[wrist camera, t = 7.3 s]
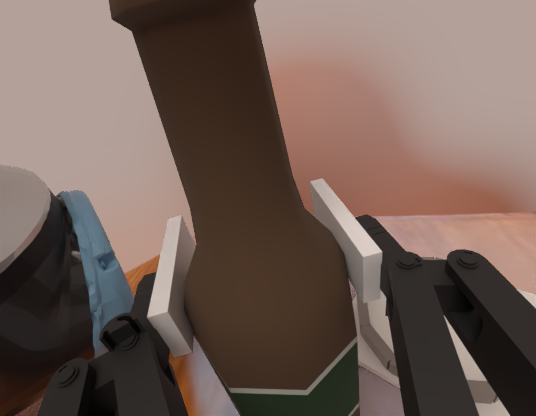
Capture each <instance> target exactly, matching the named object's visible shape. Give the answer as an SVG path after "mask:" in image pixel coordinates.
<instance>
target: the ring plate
mask: <svg viewBox="0 0 536 416" xmlns="http://www.w3.org/2000/svg"><path fill="white" fill-rule="evenodd" d="M421 258H422V259H424V260H443V259H439V258H435V259H434V257H421ZM517 290H518V291H519V292H520V293H521V294H522V295H523V296H524V297H525V298H526V299H527V300H528V301H529V302H530V303H531V304H532V305H533V306H534V307H535V308H536V295H535V294H532V293H529V292H525V291H522V290H519V289H517ZM352 304H353V310H354V316H355V323H356V329H357V338H358V365H360V366H362V367H364V368H365V369H367V370H369V371H370V372H372V373H374V374H375V375H377V376H379V377H380V378H382V379H384V380H386V381H387V382H389V383H391V384H392V385H394V386H396V387H397V388H399V389H400V384H399V378H398V373H397V367H396V361H395V355H394V349H393V343H392V337H391V332H390V326H389V320H388V316H385V311H386V297H385V295H384V294H383V292H382V291H381V293H380V299H377V300H373V301H370V302H366V303H363V302H362V300H361V298H360V296H359V295H358V293H357V294H356V296H355V298H354V299H353V301H352ZM444 317H445V316H444ZM445 320H446V323H447V326H448V328H449V331H450V334H451V337H452V340H453V343H454V345H455V348H456V351H457V354H458V357H459V360H460V362H461V365H462V368H463V371H464V374H465V377H466V379H467V382H468V385H469V388H470V391H471V394H472V396H473V399H474V402H475V405H476V408H477V411H478V413H479V416H510V415H509V413H508V412H507V410H506V409H505V407H504V405H503V404H502V402H501V401H500V399H499V398H498V396H497V395H496V393H495V392H494V390H493V389H492V387H491V386H490V384H489V383H488V381H487V380H486V378H485V377H484V375H483V374H482V372H481V371H480V369H479V368H478V366H477V365H476V363H475V361H474V360H473V358H472V357H471V355H470V354H469V352H468V351H467V349H466V348H465V346H464V345H463V343H462V342H461V340H460V339H459V337H458V336H457V334H456V333H455V331H454V330H453V328H452V327H451V325H450V324H449V322H448V321H447V319H446V317H445Z"/></svg>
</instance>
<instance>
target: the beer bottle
mask: <svg viewBox="0 0 536 416" xmlns="http://www.w3.org/2000/svg"><path fill="white" fill-rule="evenodd" d="M255 1H256V0H109V4H110V11H111V17H112V19H113V20H114V21H116V22H117V23H119V24H121V25H122V26H124V27H126V28H127V29H129V30H131V31H132V33H133V36H134V39H135V42H136V45H137V48H138V51H139V55H140V57H141V60H142V64H143V67H144V70H145V72H146V75H147V79H148V82H149V85H150V88H151V91H152V94H153V97H154V100H155V103H156V106H157V109H158V112H159V115H160V118H161V121H162V124H163V127H164V130H165V133H166V136H167V139H168V142H169V146H170V148H171V152H172V155H173V157H174V160H175V164H176V167H177V170H178V173H179V176H180V179H181V182H182V185H183V188H184V191H185V194H186V197H187V200H188V203H189V206H190V211H191V216H192V221H193V227H194V232H195V238H196V243H197V245H196V248H195V251H194V254H193V257H192V260H191V263H190V266H189V269H188V272H187V275H186V278H185V281H184V310H185V313H186V315H187V318H188V320H189V322H190V324H191V326H192V329H193V331H194V335H195V338H196V339H197V341H198V343H199V345H200V346H201V348H202V350H203V352H204V353H205V355H206V357H207V359H208V360H209V362H210V364H211V366H212V367H213V369H214V371H215V373H216V374H217V376H218V378H219V380H220V381H221V383H222V385H223V387H224V388H225V390H226V392H227V394H228V395H229V397H230V399H231V401H232V402H233V404H234V406H235V408H236V409H237V411H238V413H239V415H240V416H360V414H359V376H358V338H357V329H356V323H355V316H354V310H353V304H352V298H351V292H350V286H349V280H348V274H347V268H346V262H345V256H344V253H343V251H342V249H341V247H340V246H339V244H338V242H337V240H336V239H335V237H334V235H333V234H332V232H331V231H330V230H329V229H328V228H327V227H326V226H324V225H323V224H322V223H321V222H320V221H319V220H317V219H316V218H315V217H314V216H313V215H312V214H310V213H309V212H308V211H307V210H306V209H305V208H304V206H303V203H302V200H301V197H300V195H299V192H298V189H297V187H296V184H295V181H294V178H293V176H292V171H291V167H290V162H289V158H288V154H287V149H286V145H285V140H284V136H283V132H282V128H281V123H280V118H279V114H278V110H277V106H276V101H275V97H274V92H273V88H272V83H271V79H270V75H269V70H268V66H267V61H266V57H265V53H264V48H263V44H262V40H261V35H260V31H259V26H258V22H257V18H256V13H255V9H254V3H255Z"/></svg>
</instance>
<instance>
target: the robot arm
mask: <svg viewBox="0 0 536 416" xmlns="http://www.w3.org/2000/svg"><path fill="white" fill-rule="evenodd" d="M310 187H311V195H312V203H313V212H314V217H315V218H316V219H317V220H319V221H320V222H321V223H322V224H323V225H324V226H326V227H327V228H328V229H329V230H330V231H331V232H332V234H333V235H334V237H335V239H336V240H337V242H338V244H339V246H340V247H341V249H342V251H343V253H344V256H345V262H346V268H347V274H348V278H349V279H350V281H351V283H352V284H353V286H354V288H355V290H356V291H357V293H358V295H359V296H360V298H361V300H362V302H363V303H366V302H370V301H373V300H377V299H380V293H381V291H382V292H383V294H384V295H385V297H386V311H385V316H388V320H389V326H390V332H391V337H392V343H393V349H394V355H395V361H396V367H397V373H398V378H399V384H400V390H401V396H402V402H403V408H404V414H405V416H479V413H478V411H477V408H476V405H475V402H474V399H473V396H472V394H471V391H470V388H469V385H468V382H467V379H466V377H465V374H464V371H463V368H462V365H461V362H460V360H459V357H458V354H457V351H456V348H455V345H454V343H453V340H452V337H451V334H450V331H449V328H448V326H447V323H446V320H445V317H446V319H447V321H448V322H449V324H450V325H451V327H452V328H453V330H454V331H455V333H456V334H457V336H458V337H459V339H460V340H461V342H462V343H463V345H464V346H465V348H466V349H467V351H468V352H469V354H470V355H471V357H472V358H473V360H474V361H475V363H476V365H477V366H478V368H479V369H480V371H481V372H482V374H483V375H484V377H485V378H486V380H487V381H488V383H489V384H490V386H491V387H492V389H493V390H494V392H495V393H496V395H497V396H498V398H499V399H500V401H501V402H502V404H503V405H504V407H505V409H506V410H507V412H508V413H509V415H510V416H536V308H535V307H534V306H533V305H532V304H531V303H530V302H529V301H528V300H527V299H526V298H525V297H524V296H523V295H522V294H521V293H520V292H519V291H518V290H517V289H516V288H515V287H514V286H513V285H512V284H511V283H510V282H509V281H508V280H507V279H506V278H505V277H504V276H503V275H502V274H501V273H500V272H499V271H498V270H497V269H496V268H495V267H494V266H493V265H492V264H491V263H490V262H489V261H488V260H487V259H486V258H484V257H483V256H482V255H480V254H478V253H476V252H473V251H470V250H455V251H452V252H450V253H449V254H448V256H447V260H424V259H422V258H421V257H420V256H418V255H417V254H414V253H412V252H406V251H405V250H404V249H403V248H402V247H401V246H400V245H399V244H398V242H397V241H396V240H395V239H394V238H393V237H392V236H391V235H390V234H389V233H388V232H387V231H386V229H385V228H384V227H382V225H381V224H380V223H379V222H378V221H377V220H376V219H375V218H373V217H371V216H369V215H363V216H359V217H355V218H354V216H353V215H352V214H351V213H350V212H349V210H348V209H347V208H346V207H345V205H344V204H343V203H342V202H341V200H340V199H339V198H338V197H337V196H336V194H335V193H334V192H333V191H332V189H331V188H330V187H329V186H328V185H327V183H326V182H325V181H324V180H323V179H318V180H314V181H311V182H310ZM195 248H196V247H195V244H194V242H193V240H192V238H191V235H190V233H189V231H188V228H187V226H186V224H185V222H184V219H183V217H182V215H180V216H176V217H172V218H169V219H168V223H167V227H166V232H165V236H164V241H163V245H162V250H161V255H160V259H159V264H158V268H157V272H155V273H151V274H147V275H145V276H144V277H143V278H142V280H141V281H140V283H139V284H138V287H137V291H136V295H135V297H134V295H133V292H132V290H131V288H130V286H129V283H128V281H127V279H126V277H125V275H124V272H123V270H122V268H121V266H120V264H119V262H118V260H117V259H116V257H115V253H114V251H113V249H112V247H111V245H110V242H109V240H108V237H107V235H106V233H105V231H104V229H103V227H102V225H101V223H100V220H99V218H98V216H97V214H96V212H95V210H94V208H93V206H92V204H91V203H90V200H89V199H88V197H87V195H86V194H85V193H84V192H82V191H79V190H76V191H70V192H67V191H66V192H64V191H63V192H60V193H59V194H58V195H57V196H54V195H53V193H52V192H51V191H50V189H49V188H48V187H47V185H46V184H45V183H44V182H43V181H42V180H41V179H40V178H39V177H38V176H37V175H35V174H34V173H33V172H30V171H27V170H25V169H21V168H17V167H11V166H5V165H0V416H15V415H16V414H18V413H19V412H21V411H22V410H24V409H25V408H27V407H29V406H30V405H32V404H33V403H35V402H36V401H38V400H39V399H41V398H42V397H44V398H43V401H42V404H41V407H40V410H39V413H38V416H188V413H187V410H186V407H185V404H184V401H183V398H182V395H181V392H180V389H179V386H178V383H177V380H176V377H175V374H174V371H173V368H172V366H171V364H170V363H169V362H168V361H169V352H171V353H172V355H173V356H174V358H176V357H179V356H183V355H186V354H190V353H193V334H194V331H193V329H192V326H191V324H190V322H189V320H188V318H187V315H186V313H185V310H184V281H185V278H186V275H187V272H188V269H189V266H190V263H191V260H192V257H193V254H194V251H195ZM444 316H445V317H444Z"/></svg>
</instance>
